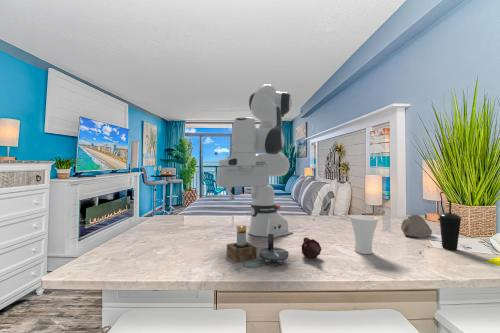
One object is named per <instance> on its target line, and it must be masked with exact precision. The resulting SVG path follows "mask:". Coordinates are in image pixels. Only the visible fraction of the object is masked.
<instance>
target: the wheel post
mask: <svg viewBox="0 0 500 333" xmlns="http://www.w3.org/2000/svg"><path fill="white" fill-rule="evenodd" d="M283 261H284V260H280V261H272V260H266V259H264V262H265V263H266V264H267V265H270V266H279V265H282V264H283V263H284V262H283Z"/></svg>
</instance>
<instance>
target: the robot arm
mask: <svg viewBox="0 0 500 333" xmlns="http://www.w3.org/2000/svg"><path fill="white" fill-rule="evenodd" d="M292 105H293V99H292V97H291V94H290V93H289V92H286V91H282V92H281V91H277V90H276V88H275V87H274V86H273V85H271V84H268V83H266V84H262V85H261V86H259V88H258V89H257V90H256V92H253V93H252V94H250V96H249V99H248V106H249V110H250V111H251V113H252V115H253V116H254V117H255V118H256V119H258V120H259V121H260V123H259V126H258V127H259V128H256V127H257V126H256V120H255V118H254V117H252V116H248V117H243V116H241V117H236V118H234V120H233V124H232V130H231V142H232V151H231V156H228V157H225V158H222V159H219V160H218V166H219V167H218V168H217V171H216V175H215V176H216V177H215V184H216V186H217V187H218V188H225V191H226V193H227V196H228V200H229V201H234V200H235V194H233V193H232V191H233V190H232V189H233V188H244V187H245V188H246V187H250V189H251V191H250V192H251V204H250V223H249V227H248V232H247V233H248V234H249V235H251V236H256V237H263V238H264V237H266V238H268V234H274V238H277V237H281V236H285V235H290V234H291V235H292V234H293V233H294V231H293V229H292V228H290V227H289V223H288V220H287V219H286V218H285V217H284V216H283V215H281V214H280V213H279V212H278V211H280V210H281V209H282V207H281V205H276V204H275V189H274V187H273V186H272V185H271V184H270V180H269V179H270V177H282V176H283V177H284V176H285V175H287V173H289V170H290V166H291V165H290V160H289V158H288V157H287V156H286V155H285V154H284V153H283V152H282V150H284V147H285V137H284V134H283V133H284V132H283V119H282V118H283V117H284V116H285V115H287V114H288V113H289V112H290V110H291V109H292Z"/></svg>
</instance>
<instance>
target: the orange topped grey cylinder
mask: <svg viewBox="0 0 500 333" xmlns="http://www.w3.org/2000/svg"><path fill="white" fill-rule="evenodd" d="M246 242H247V226H246V225H236V243H237V248H244V247H246Z"/></svg>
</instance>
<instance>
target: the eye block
mask: <svg viewBox="0 0 500 333" xmlns="http://www.w3.org/2000/svg"><path fill="white" fill-rule="evenodd" d="M226 256H228V257H229V258H230V259H231V260H233V261H234V262H235V263H239V262H243V261H244V262H245V261H249V260H255V259H257V247H256V246H254V245H253V244H252V243H249V242H248V241H246V247H244V248H237V242H233V243H227V244H226Z"/></svg>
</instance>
